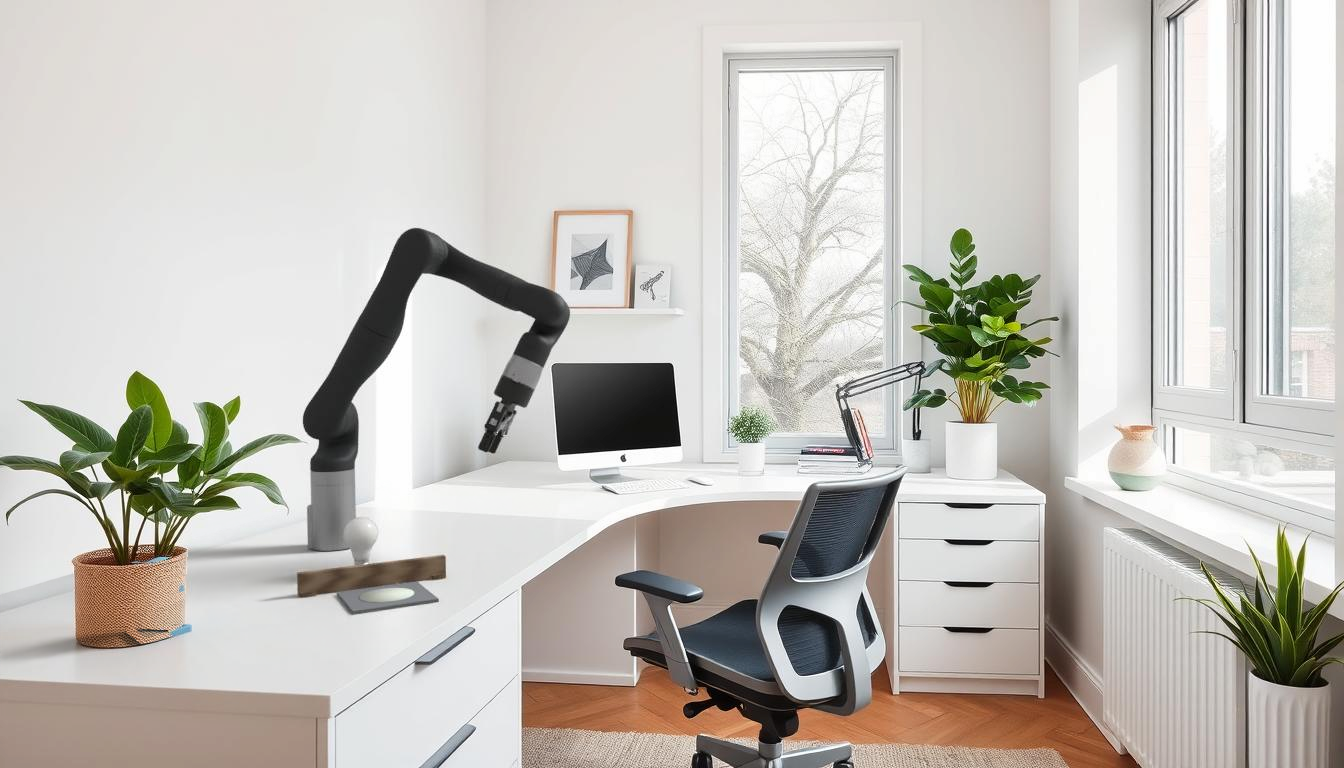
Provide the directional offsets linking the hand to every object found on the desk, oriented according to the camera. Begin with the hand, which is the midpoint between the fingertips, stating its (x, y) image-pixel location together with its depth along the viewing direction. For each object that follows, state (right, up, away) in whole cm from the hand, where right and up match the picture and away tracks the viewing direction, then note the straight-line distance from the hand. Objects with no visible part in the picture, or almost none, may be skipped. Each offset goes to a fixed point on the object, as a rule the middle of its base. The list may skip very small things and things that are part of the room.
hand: (486, 451), depth 185 cm
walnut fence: (-16, -23, -22) cm, 36 cm away
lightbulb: (-21, -23, -13) cm, 34 cm away
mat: (-11, -23, -31) cm, 40 cm away
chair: (-40, -24, -50) cm, 69 cm away
